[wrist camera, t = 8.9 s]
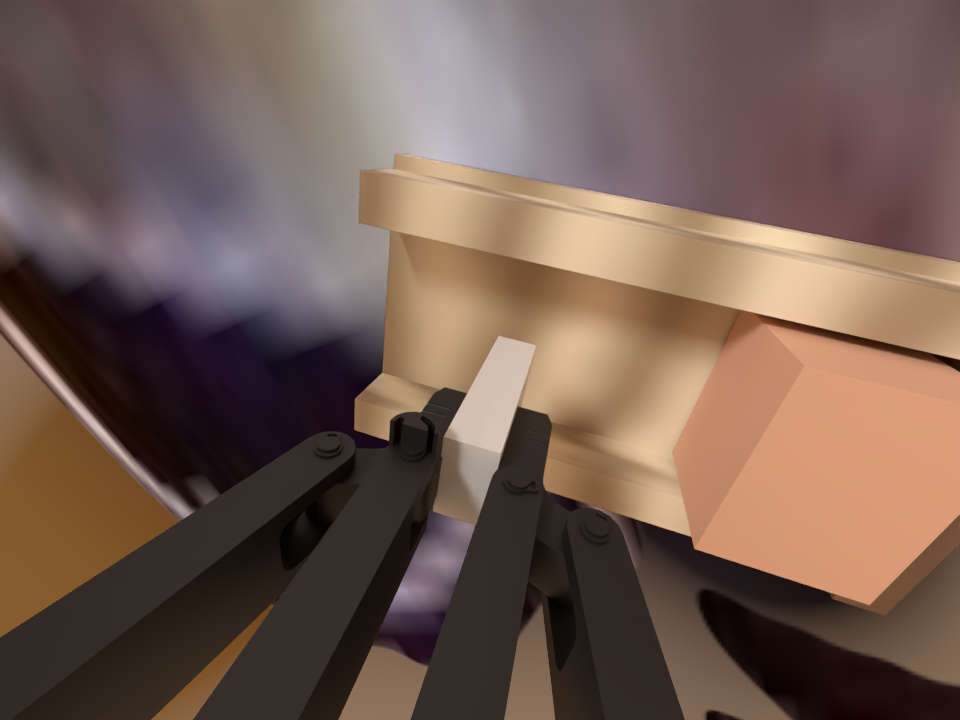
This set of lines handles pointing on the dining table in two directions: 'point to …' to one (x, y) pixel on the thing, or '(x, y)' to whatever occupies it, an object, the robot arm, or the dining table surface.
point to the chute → (618, 317)
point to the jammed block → (821, 455)
